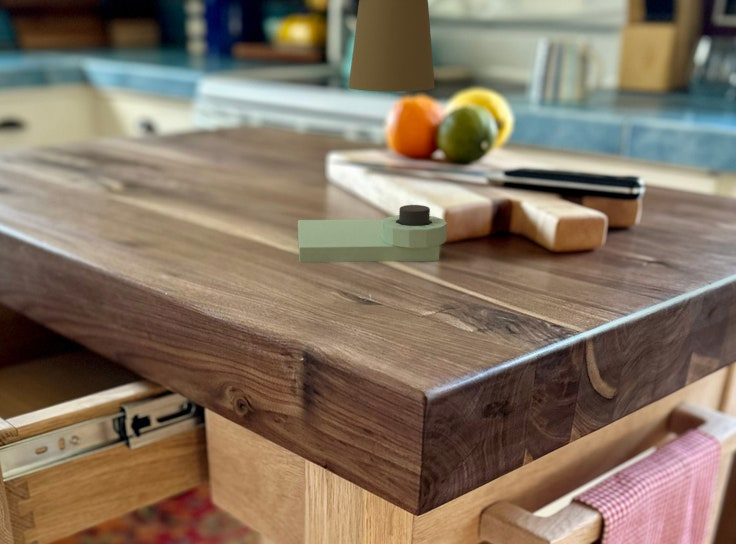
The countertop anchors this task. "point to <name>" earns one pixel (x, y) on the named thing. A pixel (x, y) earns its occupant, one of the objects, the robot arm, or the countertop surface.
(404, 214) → the button
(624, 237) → the countertop surface
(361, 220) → the mint green base plate
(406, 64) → the cork
